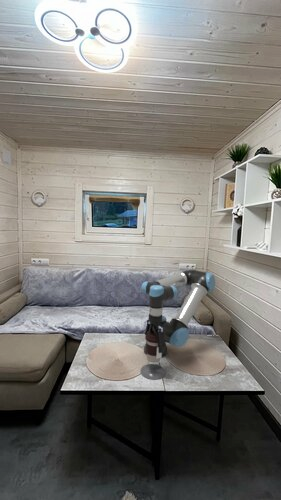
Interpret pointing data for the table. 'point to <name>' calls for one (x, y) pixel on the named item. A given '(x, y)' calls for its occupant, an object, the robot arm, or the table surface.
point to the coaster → (153, 371)
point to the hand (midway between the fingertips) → (153, 353)
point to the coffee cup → (151, 347)
